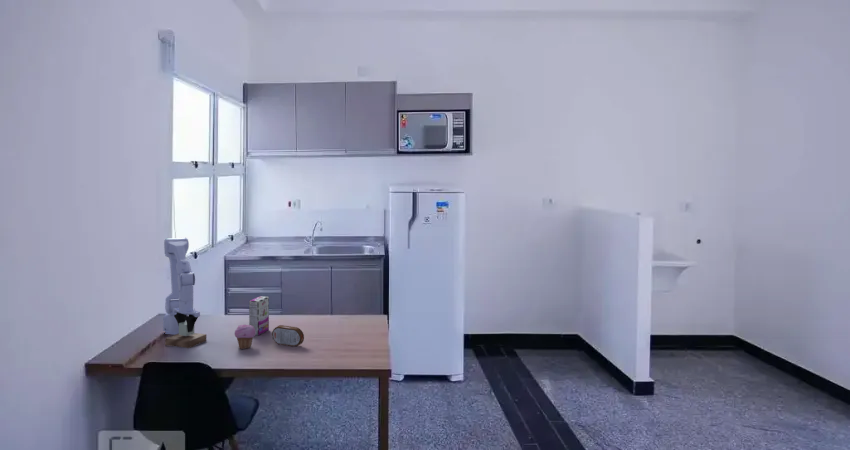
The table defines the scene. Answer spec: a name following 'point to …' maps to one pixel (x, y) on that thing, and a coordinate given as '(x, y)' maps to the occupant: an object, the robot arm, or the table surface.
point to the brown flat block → (185, 340)
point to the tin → (288, 335)
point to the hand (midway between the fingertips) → (186, 330)
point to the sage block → (184, 329)
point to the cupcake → (245, 335)
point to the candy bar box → (259, 314)
